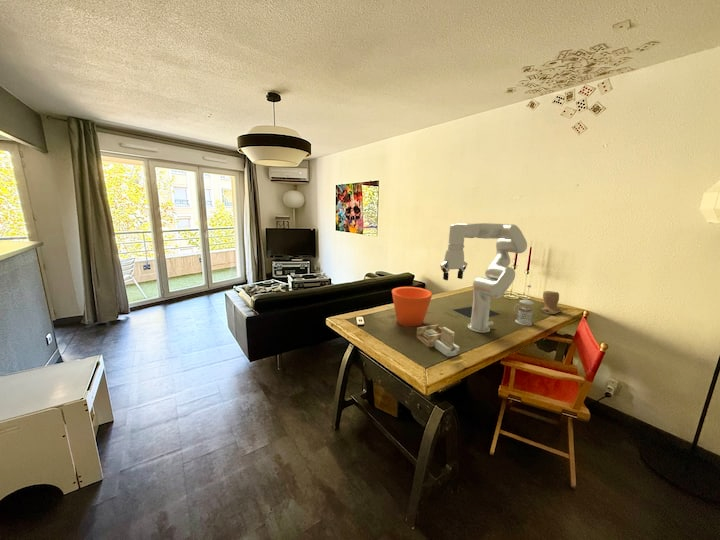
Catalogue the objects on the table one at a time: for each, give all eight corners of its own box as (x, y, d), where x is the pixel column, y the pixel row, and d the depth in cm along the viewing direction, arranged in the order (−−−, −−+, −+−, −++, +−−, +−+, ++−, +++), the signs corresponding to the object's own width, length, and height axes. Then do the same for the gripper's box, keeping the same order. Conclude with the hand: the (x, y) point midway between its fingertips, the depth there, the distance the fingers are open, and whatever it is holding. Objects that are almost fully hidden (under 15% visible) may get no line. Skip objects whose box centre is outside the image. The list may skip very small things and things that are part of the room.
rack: (437, 335, 153) (438, 324, 151) (450, 344, 143) (451, 332, 141) (416, 339, 147) (417, 327, 146) (428, 348, 137) (429, 336, 136)
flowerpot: (409, 312, 189) (411, 284, 184) (438, 324, 169) (441, 294, 164) (382, 319, 174) (383, 290, 170) (410, 333, 154) (412, 300, 150)
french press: (535, 326, 168) (541, 287, 163) (515, 324, 171) (520, 286, 166) (528, 320, 178) (534, 283, 173) (509, 318, 180) (514, 282, 175)
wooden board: (443, 348, 138) (445, 326, 135) (452, 355, 131) (454, 332, 129) (439, 349, 137) (441, 327, 135) (449, 356, 131) (451, 333, 128)
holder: (444, 346, 140) (445, 337, 139) (458, 356, 131) (459, 346, 130) (433, 348, 138) (434, 339, 137) (447, 358, 128) (448, 349, 127)
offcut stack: (430, 337, 148) (430, 328, 147) (437, 342, 142) (438, 333, 141) (422, 338, 146) (423, 329, 145) (429, 344, 140) (430, 334, 139)
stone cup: (544, 307, 204) (547, 288, 201) (563, 312, 194) (566, 292, 191) (535, 311, 195) (538, 291, 192) (554, 316, 186) (557, 295, 183)
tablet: (473, 319, 176) (451, 309, 194) (473, 320, 176) (451, 310, 194) (501, 314, 187) (478, 305, 205) (501, 315, 187) (478, 306, 205)
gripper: (463, 246, 148) (460, 276, 152) (437, 247, 142) (435, 278, 145) (473, 248, 142) (470, 279, 145) (447, 249, 135) (444, 282, 139)
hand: (452, 279), depth 145 cm, fingers open, 9 cm apart
